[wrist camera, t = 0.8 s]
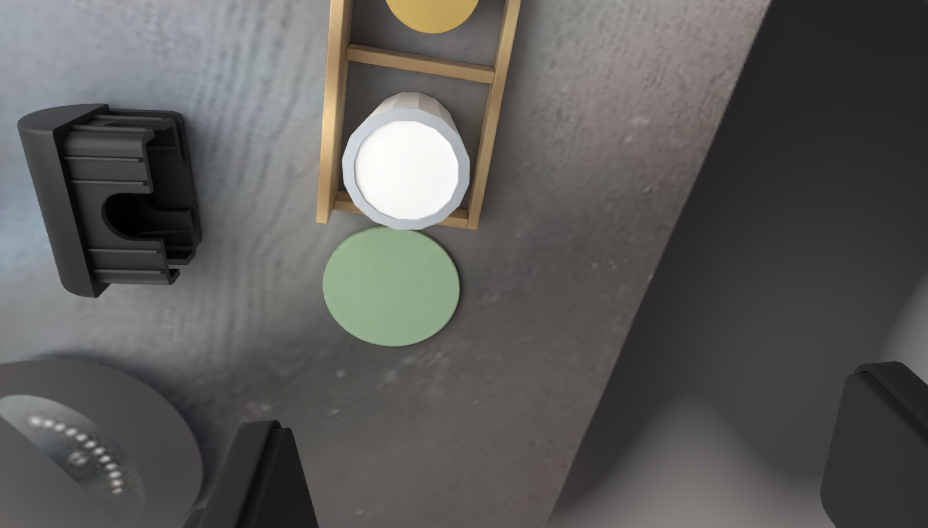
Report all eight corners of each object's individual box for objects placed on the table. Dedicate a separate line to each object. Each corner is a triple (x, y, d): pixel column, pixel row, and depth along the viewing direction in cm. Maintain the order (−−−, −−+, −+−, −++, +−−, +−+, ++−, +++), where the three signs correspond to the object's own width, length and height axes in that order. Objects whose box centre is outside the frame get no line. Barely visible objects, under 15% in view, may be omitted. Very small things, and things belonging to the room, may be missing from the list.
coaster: (328, 215, 42) (327, 218, 41) (469, 235, 43) (470, 237, 42) (319, 335, 46) (318, 338, 46) (448, 350, 47) (448, 353, 47)
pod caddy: (351, -145, 33) (340, -155, 29) (538, -108, 34) (549, -114, 30) (326, 198, 41) (315, 222, 38) (475, 219, 42) (479, 245, 39)
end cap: (61, 98, 38) (-11, 127, 32) (181, 102, 38) (132, 132, 32) (97, 248, 42) (40, 298, 36) (204, 250, 43) (166, 301, 37)
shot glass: (454, 71, 38) (457, 96, 32) (474, 177, 41) (480, 219, 35) (344, 92, 38) (325, 121, 32) (372, 196, 41) (360, 241, 35)
